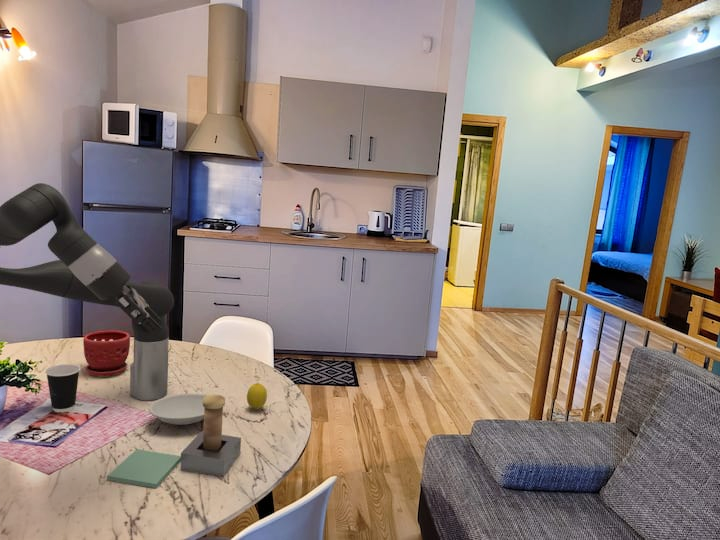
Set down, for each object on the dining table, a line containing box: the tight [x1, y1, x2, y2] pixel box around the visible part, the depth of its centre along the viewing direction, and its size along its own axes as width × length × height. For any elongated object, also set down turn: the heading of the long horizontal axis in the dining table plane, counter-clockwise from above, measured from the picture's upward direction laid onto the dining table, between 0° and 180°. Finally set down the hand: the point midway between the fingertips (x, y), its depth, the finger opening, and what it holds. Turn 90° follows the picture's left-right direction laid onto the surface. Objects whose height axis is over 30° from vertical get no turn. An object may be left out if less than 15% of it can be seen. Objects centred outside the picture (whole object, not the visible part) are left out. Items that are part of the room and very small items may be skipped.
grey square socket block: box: [180, 431, 242, 477], centre depth 115 cm, size 10×10×4 cm
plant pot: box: [83, 330, 131, 377], centre depth 159 cm, size 13×13×12 cm
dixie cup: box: [45, 363, 81, 413], centre depth 133 cm, size 8×8×11 cm
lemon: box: [246, 382, 268, 410], centre depth 142 cm, size 6×6×8 cm
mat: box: [106, 448, 181, 489], centre depth 110 cm, size 11×11×1 cm
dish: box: [148, 393, 210, 426], centre depth 132 cm, size 18×14×5 cm
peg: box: [203, 394, 226, 453], centre depth 114 cm, size 5×5×15 cm
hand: (158, 328), depth 107 cm, fingers open, 8 cm apart
